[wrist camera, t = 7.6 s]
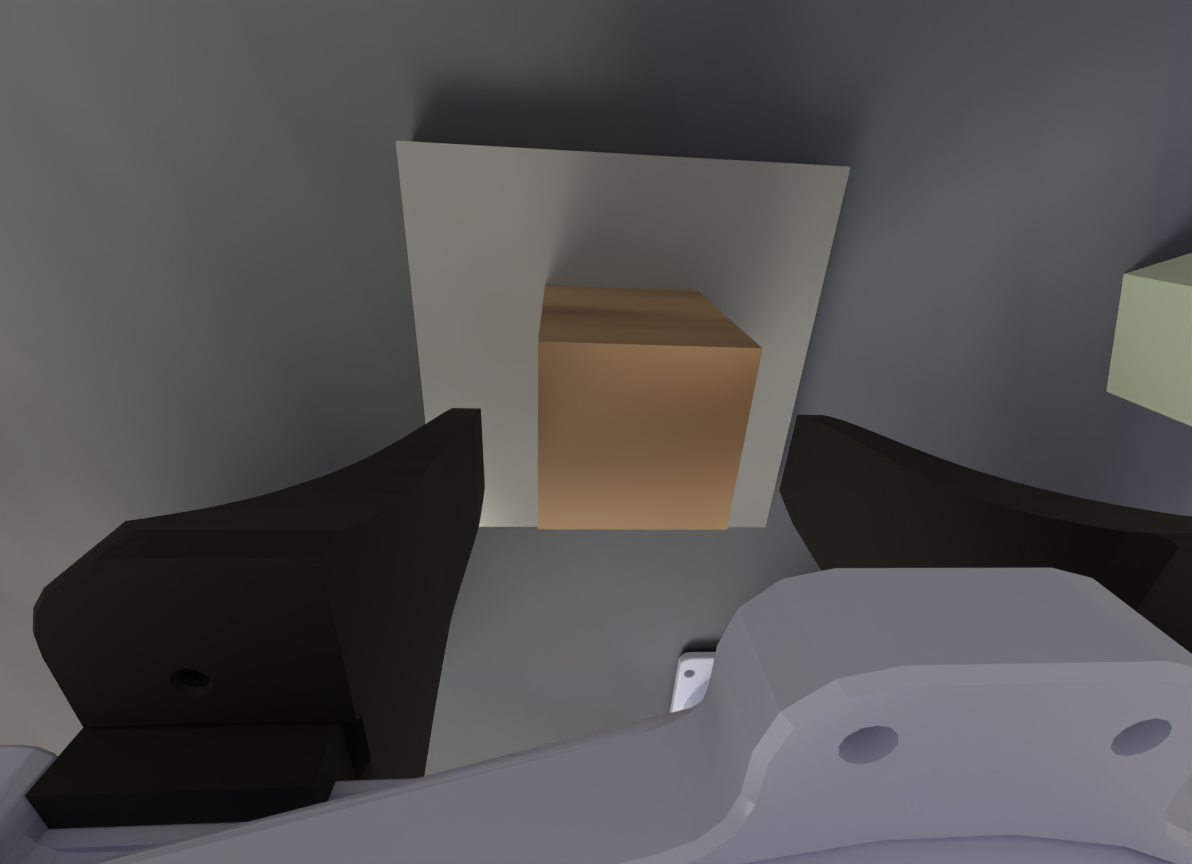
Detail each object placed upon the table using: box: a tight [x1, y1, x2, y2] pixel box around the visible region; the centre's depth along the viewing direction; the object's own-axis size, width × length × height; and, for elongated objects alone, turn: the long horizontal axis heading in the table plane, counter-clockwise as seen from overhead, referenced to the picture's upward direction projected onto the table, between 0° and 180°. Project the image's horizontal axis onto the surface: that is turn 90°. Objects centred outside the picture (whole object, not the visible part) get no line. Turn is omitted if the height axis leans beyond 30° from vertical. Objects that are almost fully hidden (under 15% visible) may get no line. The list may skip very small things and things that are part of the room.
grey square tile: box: [396, 141, 850, 527], centre depth 17 cm, size 12×12×2 cm
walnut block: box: [538, 285, 763, 530], centre depth 14 cm, size 4×4×6 cm
